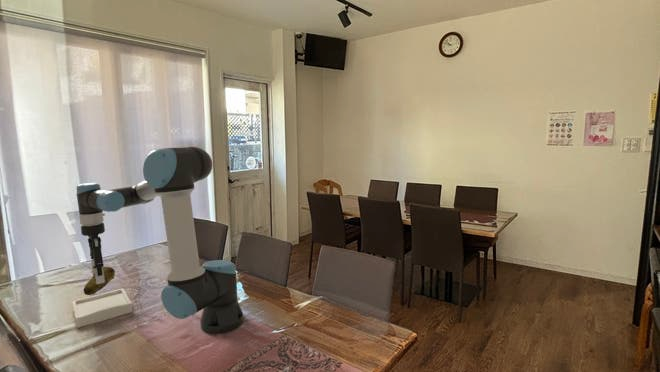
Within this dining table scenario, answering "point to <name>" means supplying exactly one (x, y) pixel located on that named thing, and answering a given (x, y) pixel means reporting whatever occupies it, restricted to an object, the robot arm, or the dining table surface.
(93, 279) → the potato
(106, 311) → the rectangular tray
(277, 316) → the dining table surface
